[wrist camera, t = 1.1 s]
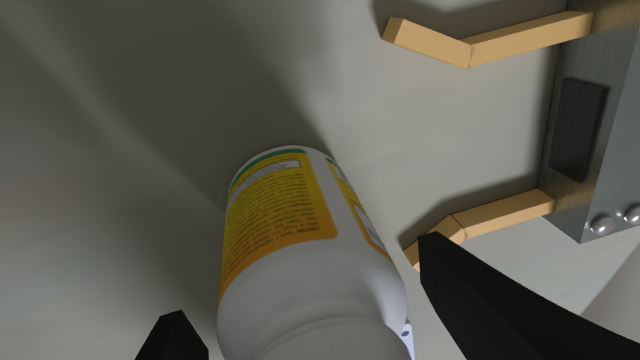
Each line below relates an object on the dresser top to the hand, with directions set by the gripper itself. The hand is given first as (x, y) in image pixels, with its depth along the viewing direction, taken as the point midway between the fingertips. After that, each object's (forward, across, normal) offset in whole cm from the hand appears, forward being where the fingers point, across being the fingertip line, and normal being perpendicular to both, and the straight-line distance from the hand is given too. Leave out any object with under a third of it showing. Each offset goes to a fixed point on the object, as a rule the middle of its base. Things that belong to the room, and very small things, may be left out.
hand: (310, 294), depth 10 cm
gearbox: (+6, -15, -1) cm, 16 cm away
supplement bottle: (+6, 0, 0) cm, 6 cm away
